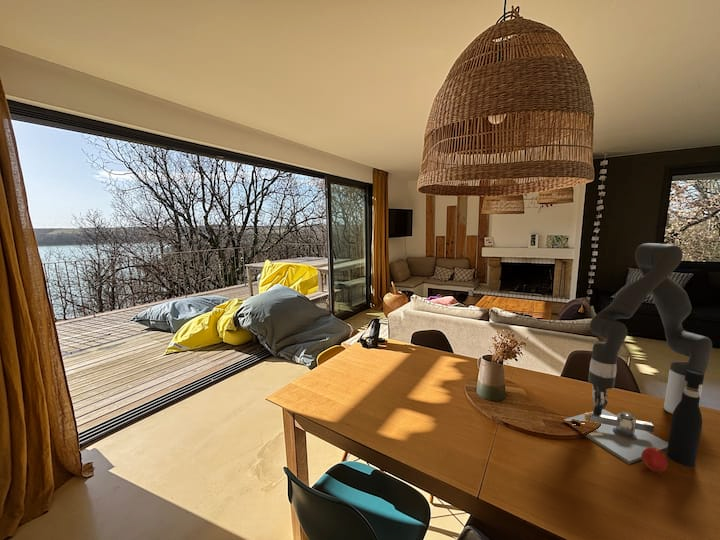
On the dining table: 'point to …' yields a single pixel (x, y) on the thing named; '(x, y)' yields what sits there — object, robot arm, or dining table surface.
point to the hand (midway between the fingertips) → (596, 415)
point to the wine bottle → (686, 422)
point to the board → (622, 440)
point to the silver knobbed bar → (621, 423)
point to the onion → (654, 459)
